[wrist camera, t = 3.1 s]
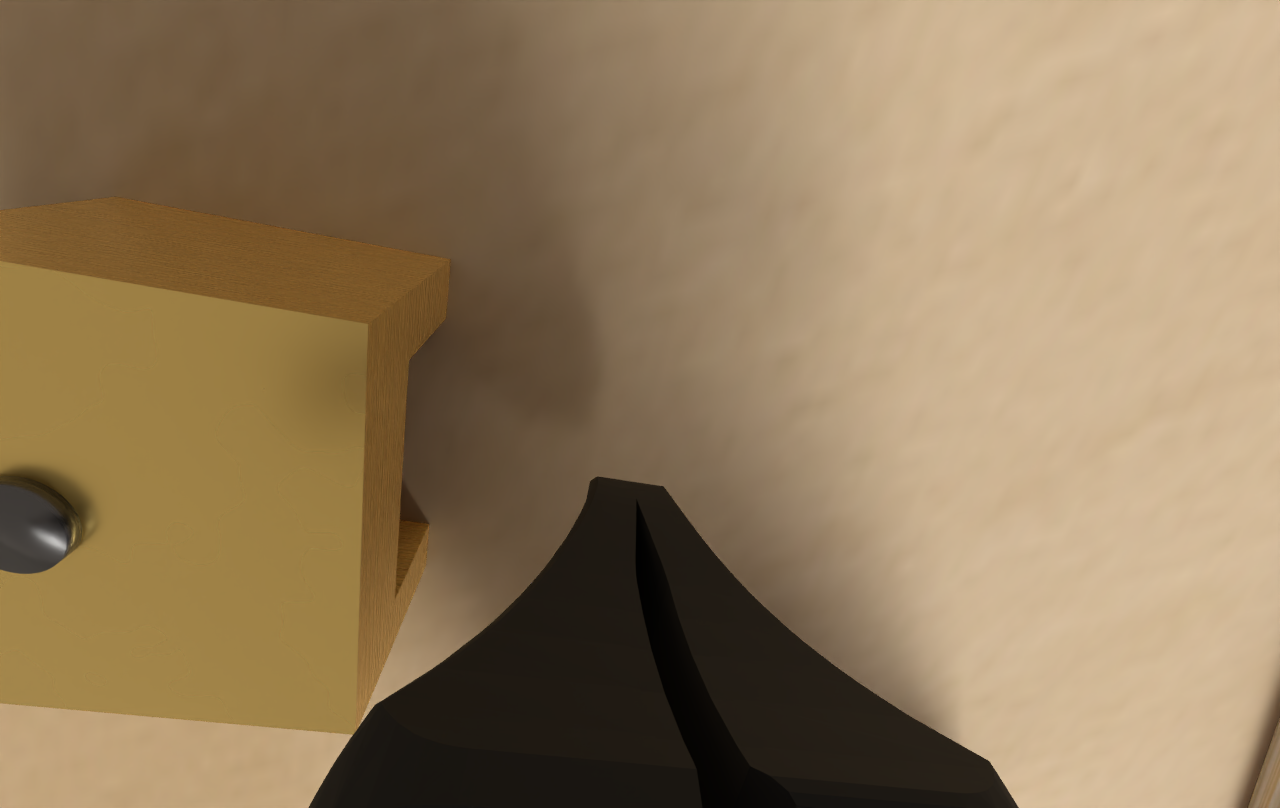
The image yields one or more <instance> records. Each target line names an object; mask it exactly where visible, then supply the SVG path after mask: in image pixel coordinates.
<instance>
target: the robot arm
mask: <svg viewBox="0 0 1280 808" xmlns="http://www.w3.org/2000/svg"><path fill="white" fill-rule="evenodd" d="M309 808H1018V806H1017V804H1016V803H1015V801H1014V800H1013V798H1012V796H1011V795H1010V793H1009V792H1008V790H1007V788H1006V787H1005V785H1004V783H1003V782H1002V780H1001V779H1000V777H999V775H998V774H997V772H996V771H995V769H994V768H993V766H992V765H991V763H990V762H989V761H988V760H986V759H984V758H983V757H981V756H979V755H977V754H976V753H974V752H972V751H970V750H968V749H967V748H965V747H963V746H961V745H960V744H958V743H956V742H954V741H952V740H951V739H949V738H947V737H945V736H944V735H942V734H940V733H938V732H936V731H935V730H933V729H931V728H929V727H928V726H926V725H924V724H922V723H921V722H919V721H917V720H915V719H913V718H912V717H910V716H909V715H907V714H905V713H904V712H902V711H901V710H899V709H897V708H896V707H894V706H893V705H891V704H890V703H888V702H887V701H885V700H884V699H882V698H881V697H879V696H877V695H876V694H874V693H873V692H871V691H870V690H868V689H867V688H865V687H864V686H862V685H861V684H859V683H858V682H857V681H855V680H854V679H852V678H851V677H849V676H848V675H847V674H845V673H844V672H842V671H841V670H840V669H838V668H837V667H836V666H834V665H833V664H832V663H830V662H829V661H828V660H827V659H825V658H824V657H823V656H821V655H820V654H819V653H817V652H816V651H815V650H814V649H812V648H811V647H810V646H808V645H807V644H806V643H805V642H803V641H802V640H801V639H800V638H799V637H797V636H796V635H795V634H794V633H793V632H791V631H790V630H789V629H788V628H787V627H786V626H785V625H783V624H782V623H781V622H780V621H779V620H778V619H777V618H776V617H775V616H774V615H773V614H771V613H770V612H769V611H768V610H767V609H766V608H765V607H764V606H763V605H762V604H761V603H759V602H758V601H757V600H756V599H755V598H754V597H753V596H752V595H751V594H750V593H749V592H748V591H747V589H746V588H745V587H744V586H743V585H742V584H741V583H740V582H739V581H738V580H737V579H736V578H735V576H734V575H733V574H732V573H731V572H730V571H729V570H728V569H727V568H726V567H725V565H724V564H723V563H722V562H721V561H720V560H719V558H718V557H717V556H716V555H715V554H714V553H713V551H712V550H711V549H710V548H709V546H708V545H707V544H706V543H705V541H704V540H703V539H702V538H701V536H700V535H699V534H698V532H697V531H696V530H695V529H694V527H693V526H692V525H691V523H690V522H689V521H688V519H687V518H686V517H685V515H684V514H683V512H682V511H681V510H680V508H679V507H678V506H677V504H676V503H675V501H674V500H673V499H672V497H671V496H670V494H669V493H668V492H667V490H666V489H665V488H664V487H663V486H656V485H650V484H643V483H636V482H630V481H623V480H616V479H610V478H603V477H596V478H595V479H593V480H591V481H590V485H589V490H588V495H587V500H586V502H585V505H584V507H583V509H582V511H581V513H580V515H579V517H578V519H577V520H576V522H575V524H574V526H573V527H572V529H571V531H570V533H569V534H568V536H567V537H566V539H565V540H564V542H563V543H562V545H561V546H560V547H559V549H558V550H557V552H556V553H555V555H554V556H553V557H552V559H551V560H550V562H549V563H548V564H547V565H546V567H545V568H544V569H543V570H542V572H541V573H540V574H539V575H538V576H537V578H536V579H535V580H534V581H533V582H532V583H531V584H530V585H529V587H528V588H527V589H526V590H525V591H524V592H523V593H522V594H521V595H520V596H519V597H518V598H517V599H516V600H515V601H514V602H513V603H512V604H511V605H510V606H509V607H508V608H507V609H506V610H505V611H504V612H503V613H502V614H501V615H500V616H499V617H498V618H497V619H495V620H494V621H493V622H492V623H491V624H490V625H489V626H488V627H486V628H485V629H484V630H483V631H482V632H480V633H479V634H478V635H477V636H475V637H474V638H473V639H471V640H470V641H469V642H468V643H466V644H465V645H464V646H462V647H461V648H460V649H459V650H457V651H456V652H455V653H453V654H452V655H451V656H450V657H448V658H447V659H446V660H444V661H443V662H442V663H440V664H439V665H437V666H436V667H434V668H433V669H432V670H430V671H428V672H427V673H425V674H424V675H422V676H420V677H419V678H417V679H416V680H414V681H413V682H411V683H409V684H408V685H406V686H405V687H403V688H401V689H400V690H398V691H397V692H395V693H394V694H392V695H390V696H389V697H387V698H386V699H384V700H382V701H381V702H379V703H377V704H375V706H374V707H373V708H372V710H371V711H370V712H369V714H368V715H367V716H366V718H365V719H364V721H363V722H362V723H361V725H360V726H359V728H358V729H357V730H356V732H355V733H354V734H353V736H352V737H351V739H350V740H349V742H348V743H347V745H346V746H345V748H344V749H343V751H342V752H341V754H340V755H339V757H338V758H337V760H336V761H335V763H334V764H333V766H332V768H331V769H330V771H329V773H328V774H327V776H326V778H325V780H324V781H323V783H322V785H321V786H320V788H319V790H318V792H317V793H316V795H315V797H314V799H313V801H312V802H311V804H310V806H309Z"/></svg>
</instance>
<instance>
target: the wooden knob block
mask: <svg viewBox="0 0 1280 808" xmlns="http://www.w3.org/2000/svg"><path fill="white" fill-rule="evenodd" d="M450 263H451V259H446V258H441V257H436V256H430V255H425V254H420V253H414V252H409V251H404V250H398V249H393V248H388V247H382V246H377V245H371V244H366V243H361V242H355V241H350V240H345V239H339V238H334V237H329V236H323V235H318V234H313V233H307V232H302V231H297V230H291V229H286V228H280V227H275V226H270V225H264V224H259V223H254V222H248V221H243V220H238V219H232V218H227V217H222V216H216V215H211V214H206V213H200V212H195V211H189V210H184V209H179V208H173V207H168V206H163V205H157V204H152V203H147V202H141V201H136V200H131V199H125V198H120V197H109V198H101V199H92V200H84V201H75V202H67V203H58V204H50V205H41V206H33V207H24V208H16V209H7V210H0V703H4V704H15V705H26V706H37V707H48V708H60V709H71V710H82V711H93V712H105V713H116V714H127V715H138V716H150V717H161V718H172V719H183V720H195V721H206V722H217V723H228V724H240V725H251V726H262V727H273V728H285V729H296V730H307V731H318V732H329V733H341V734H352V735H353V734H354V733H355V732H356V730H357V729H358V727H359V724H360V722H361V720H362V717H363V715H364V712H365V710H366V708H367V705H368V703H369V701H370V698H371V696H372V693H373V691H374V689H375V686H376V684H377V681H378V679H379V677H380V674H381V672H382V669H383V667H384V665H385V662H386V660H387V657H388V655H389V653H390V650H391V648H392V645H393V643H394V641H395V638H396V636H397V633H398V631H399V629H400V626H401V624H402V622H403V619H404V617H405V614H406V612H407V610H408V607H409V605H410V602H411V600H412V598H413V595H414V593H415V590H416V588H417V586H418V583H419V581H420V578H421V576H422V574H423V571H424V569H425V566H426V558H427V545H428V533H429V524H425V523H418V522H410V521H402V520H399V519H400V503H401V486H402V469H403V452H404V435H405V418H406V401H407V384H408V367H409V360H410V359H411V357H412V356H413V355H414V354H415V353H416V352H417V351H418V349H419V348H420V347H421V346H422V345H423V344H424V343H425V342H426V340H427V339H428V338H429V337H430V336H431V335H432V334H433V332H434V331H435V330H436V329H437V328H438V327H439V326H440V325H441V323H442V322H443V321H444V320H445V319H446V312H447V300H448V287H449V275H450Z"/></svg>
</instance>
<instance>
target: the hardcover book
mask: <svg viewBox="0 0 1280 808" xmlns="http://www.w3.org/2000/svg"><path fill="white" fill-rule="evenodd" d="M1248 808H1280V718H1279V721H1278V724H1277V726H1276V729H1275V732H1274V735H1273V738H1272V740H1271V743H1270V746H1269V749H1268V752H1267V755H1266V757H1265V760H1264V763H1263V766H1262V769H1261V771H1260V774H1259V777H1258V780H1257V783H1256V786H1255V788H1254V791H1253V794H1252V797H1251V800H1250V802H1249V805H1248Z"/></svg>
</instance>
